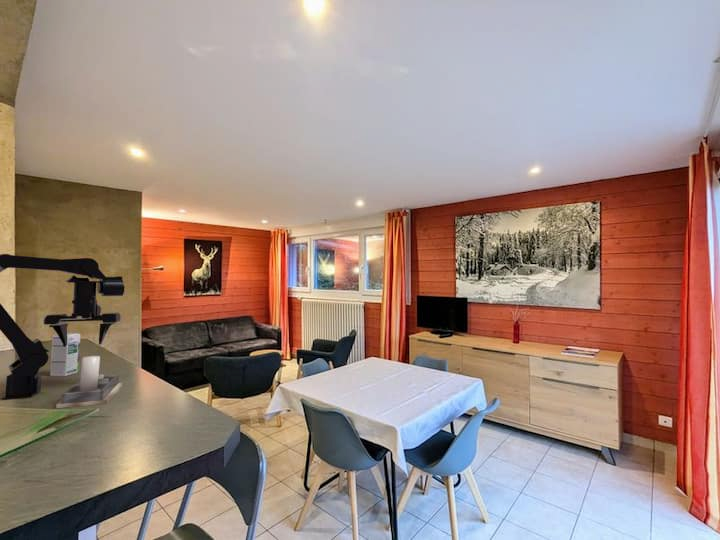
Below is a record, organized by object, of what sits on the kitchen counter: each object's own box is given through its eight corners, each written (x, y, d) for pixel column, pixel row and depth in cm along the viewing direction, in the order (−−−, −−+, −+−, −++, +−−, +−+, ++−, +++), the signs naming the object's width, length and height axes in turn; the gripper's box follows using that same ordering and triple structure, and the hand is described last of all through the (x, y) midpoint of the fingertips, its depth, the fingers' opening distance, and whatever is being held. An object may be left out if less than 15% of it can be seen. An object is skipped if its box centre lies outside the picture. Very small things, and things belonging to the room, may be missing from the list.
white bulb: (72, 400, 94) (75, 359, 95) (78, 394, 99) (82, 355, 100) (97, 398, 96) (100, 358, 97) (102, 393, 101) (105, 355, 102)
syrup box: (65, 376, 122) (68, 335, 123) (49, 376, 122) (52, 334, 123) (78, 372, 128) (81, 333, 129) (63, 372, 128) (66, 332, 129)
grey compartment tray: (56, 408, 91) (57, 388, 91) (79, 389, 108) (80, 372, 108) (106, 403, 95) (107, 385, 96) (121, 385, 112) (122, 370, 112)
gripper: (125, 295, 123) (124, 339, 122) (60, 296, 116) (58, 343, 115) (116, 296, 113) (114, 345, 112) (43, 297, 106) (41, 348, 105)
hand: (83, 345), depth 111 cm, fingers open, 9 cm apart
